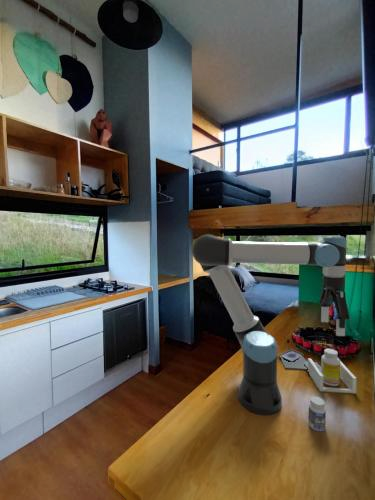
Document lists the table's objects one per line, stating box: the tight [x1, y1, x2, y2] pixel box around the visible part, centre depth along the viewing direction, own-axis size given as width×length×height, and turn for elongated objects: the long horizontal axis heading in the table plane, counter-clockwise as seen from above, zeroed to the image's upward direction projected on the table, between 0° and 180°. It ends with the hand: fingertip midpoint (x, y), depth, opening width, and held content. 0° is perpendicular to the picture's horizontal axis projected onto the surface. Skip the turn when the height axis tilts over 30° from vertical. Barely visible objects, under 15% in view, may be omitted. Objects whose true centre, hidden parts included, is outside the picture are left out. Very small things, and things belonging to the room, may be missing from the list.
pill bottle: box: [307, 396, 327, 432], centre depth 76 cm, size 5×5×8 cm
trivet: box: [278, 354, 308, 371], centre depth 112 cm, size 11×11×1 cm
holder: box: [307, 358, 357, 394], centre depth 98 cm, size 13×13×6 cm
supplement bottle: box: [320, 348, 341, 387], centre depth 98 cm, size 7×7×13 cm
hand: (331, 328), depth 96 cm, fingers open, 13 cm apart
